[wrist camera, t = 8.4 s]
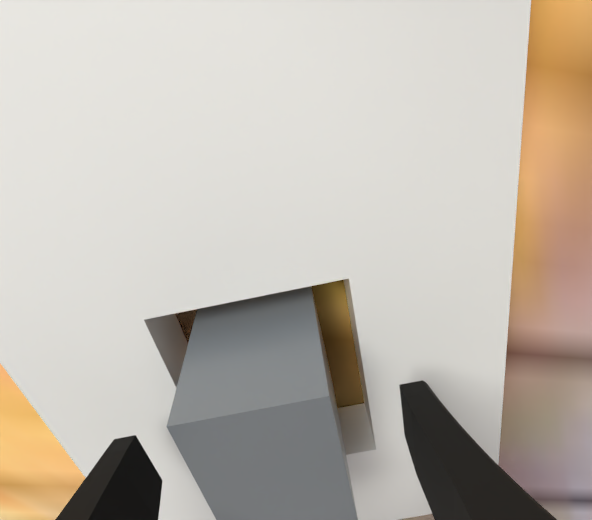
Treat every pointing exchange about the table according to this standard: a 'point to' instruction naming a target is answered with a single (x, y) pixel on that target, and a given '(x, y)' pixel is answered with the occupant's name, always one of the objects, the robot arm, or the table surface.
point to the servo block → (262, 412)
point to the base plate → (258, 207)
